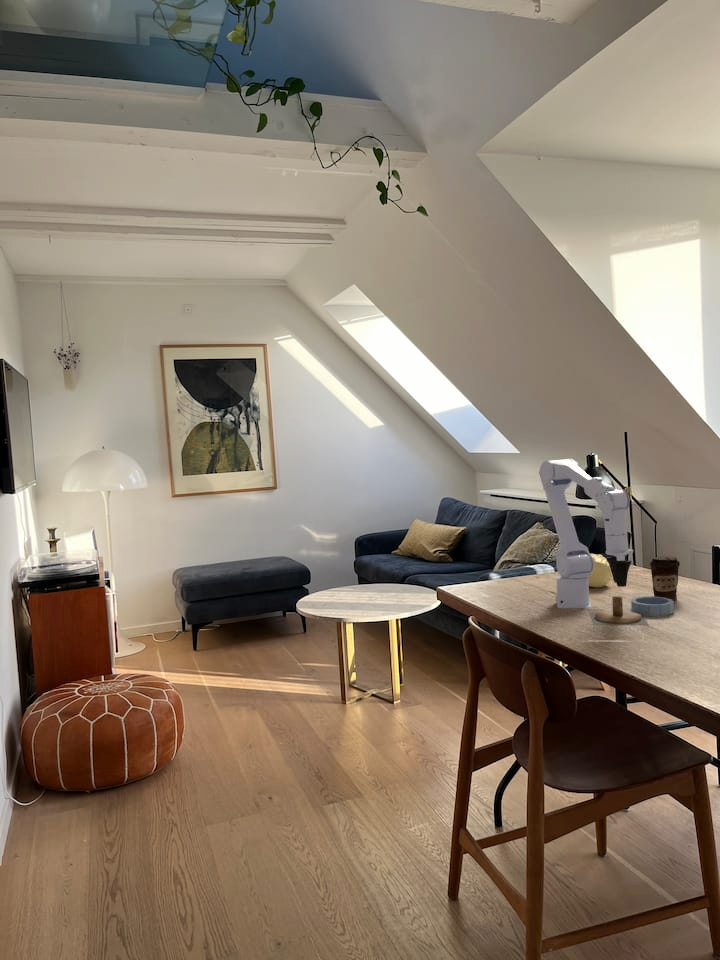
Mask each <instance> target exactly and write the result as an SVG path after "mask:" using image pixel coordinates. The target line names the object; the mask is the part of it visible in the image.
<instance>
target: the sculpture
mask: <svg viewBox="0 0 720 960" xmlns="http://www.w3.org/2000/svg"><path fill="white" fill-rule="evenodd" d="M590 555H591V556H592V557H593V560H594V569H593V571H592V572H591V573H590V576H588V583H589V588H590V587H591V588H603V587H605V586H606V585H608V584H609V582H610V580H611V578H613V576H612V572H611V568H610V566H609V563H608V561H607V560H606V557H604V556H603V555H602V554H595V553H590Z"/></svg>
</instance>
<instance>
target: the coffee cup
mask: <svg viewBox="0 0 720 960" xmlns="http://www.w3.org/2000/svg"><path fill="white" fill-rule="evenodd" d="M651 559H652V560H651V561H650V563H649V566H650V569H651V573H650V574H651V580H652V590H653V596H654V597H664V598H668V599H672V600H673V602H677V601H678V598H677V589H678V583H679V569H680V564H681V562H680V561H679V560H678V557H676V556H656V557H652V558H651Z"/></svg>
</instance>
